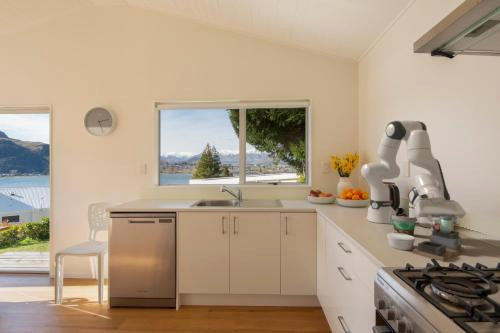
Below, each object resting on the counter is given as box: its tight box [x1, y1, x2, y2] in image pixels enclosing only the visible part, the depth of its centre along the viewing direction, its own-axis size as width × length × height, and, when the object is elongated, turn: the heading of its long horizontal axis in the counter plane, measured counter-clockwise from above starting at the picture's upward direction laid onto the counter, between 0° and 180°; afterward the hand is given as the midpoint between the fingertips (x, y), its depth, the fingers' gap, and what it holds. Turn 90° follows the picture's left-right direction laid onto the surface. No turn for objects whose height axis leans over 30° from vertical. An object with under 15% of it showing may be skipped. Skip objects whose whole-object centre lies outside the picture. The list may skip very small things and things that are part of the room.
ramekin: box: [386, 232, 416, 251], centre depth 118 cm, size 11×11×5 cm
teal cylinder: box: [440, 215, 451, 234], centre depth 116 cm, size 4×4×9 cm
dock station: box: [412, 229, 465, 262], centre depth 112 cm, size 23×11×8 cm, turn 123°
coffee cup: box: [431, 218, 455, 232], centre depth 129 cm, size 9×9×12 cm
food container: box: [392, 215, 418, 237], centre depth 138 cm, size 12×6×10 cm, turn 71°
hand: (446, 224), depth 115 cm, fingers open, 8 cm apart
